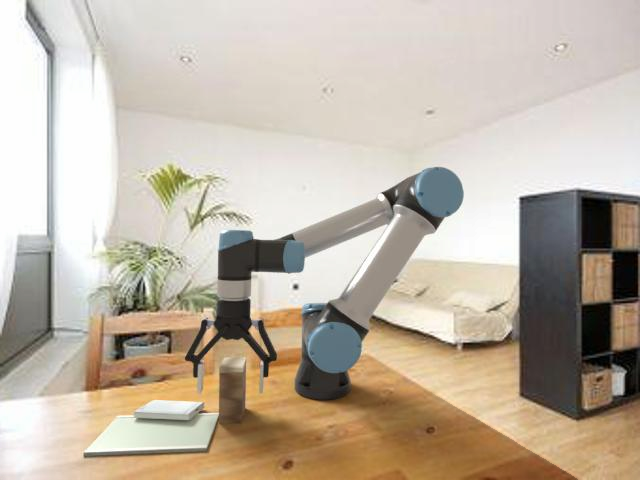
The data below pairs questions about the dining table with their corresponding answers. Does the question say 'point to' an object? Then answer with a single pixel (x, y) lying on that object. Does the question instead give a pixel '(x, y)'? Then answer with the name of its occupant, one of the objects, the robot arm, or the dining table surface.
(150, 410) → the hard drive
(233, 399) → the walnut block
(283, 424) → the dining table surface
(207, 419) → the board
